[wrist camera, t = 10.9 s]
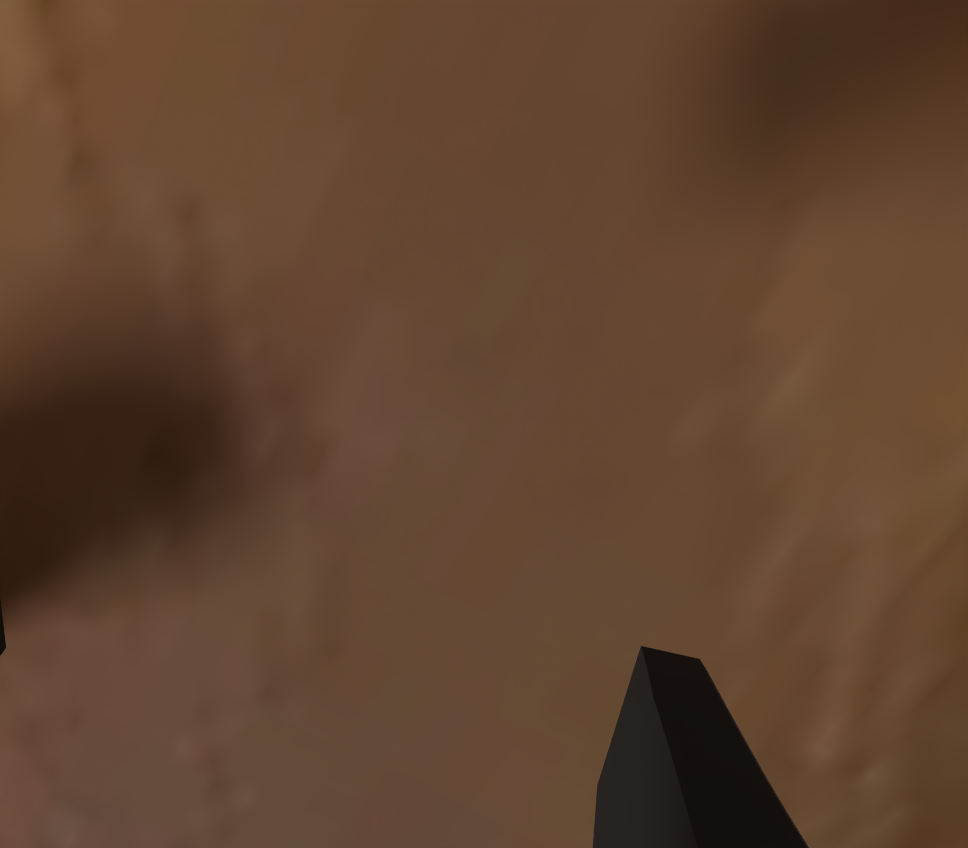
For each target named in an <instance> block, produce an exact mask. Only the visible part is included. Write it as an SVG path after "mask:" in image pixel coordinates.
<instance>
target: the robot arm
mask: <svg viewBox="0 0 968 848" xmlns="http://www.w3.org/2000/svg"><path fill="white" fill-rule="evenodd" d="M5 648H6V643H5V634H4V626H3V617H2V609H1V601H0V655H1V654H2V653H3V651H4V650H5ZM593 848H809V847H808V846H807V844H806V843H805V841H804V839H803V838H802V836H801V834H800V833H799V831H798V830H797V828H796V826H795V825H794V823H793V821H792V820H791V818H790V816H789V815H788V813H787V812H786V810H785V808H784V807H783V805H782V803H781V802H780V800H779V798H778V797H777V795H776V793H775V791H774V790H773V788H772V786H771V785H770V783H769V781H768V780H767V778H766V776H765V774H764V773H763V771H762V769H761V767H760V766H759V764H758V762H757V760H756V759H755V757H754V755H753V753H752V751H751V750H750V748H749V746H748V744H747V743H746V741H745V739H744V737H743V736H742V734H741V732H740V730H739V728H738V727H737V725H736V723H735V721H734V719H733V717H732V716H731V714H730V712H729V710H728V708H727V707H726V705H725V703H724V701H723V699H722V697H721V696H720V694H719V692H718V690H717V688H716V686H715V685H714V683H713V681H712V679H711V677H710V675H709V674H708V672H707V670H706V669H705V667H704V665H703V664H702V662H701V661H700V659H697V658H693V657H688V656H684V655H679V654H675V653H670V652H666V651H661V650H656V649H652V648H647V647H643V646H641V648H640V651H639V654H638V657H637V660H636V664H635V667H634V670H633V673H632V676H631V680H630V683H629V686H628V689H627V692H626V696H625V699H624V702H623V705H622V708H621V712H620V715H619V718H618V721H617V724H616V728H615V731H614V734H613V737H612V740H611V744H610V747H609V750H608V753H607V756H606V760H605V763H604V766H603V769H602V772H601V776H600V779H599V782H598V785H597V798H596V812H595V825H594V839H593Z"/></svg>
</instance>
